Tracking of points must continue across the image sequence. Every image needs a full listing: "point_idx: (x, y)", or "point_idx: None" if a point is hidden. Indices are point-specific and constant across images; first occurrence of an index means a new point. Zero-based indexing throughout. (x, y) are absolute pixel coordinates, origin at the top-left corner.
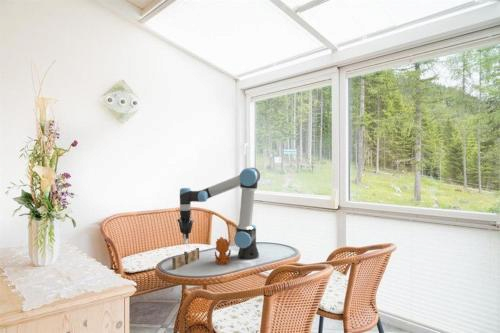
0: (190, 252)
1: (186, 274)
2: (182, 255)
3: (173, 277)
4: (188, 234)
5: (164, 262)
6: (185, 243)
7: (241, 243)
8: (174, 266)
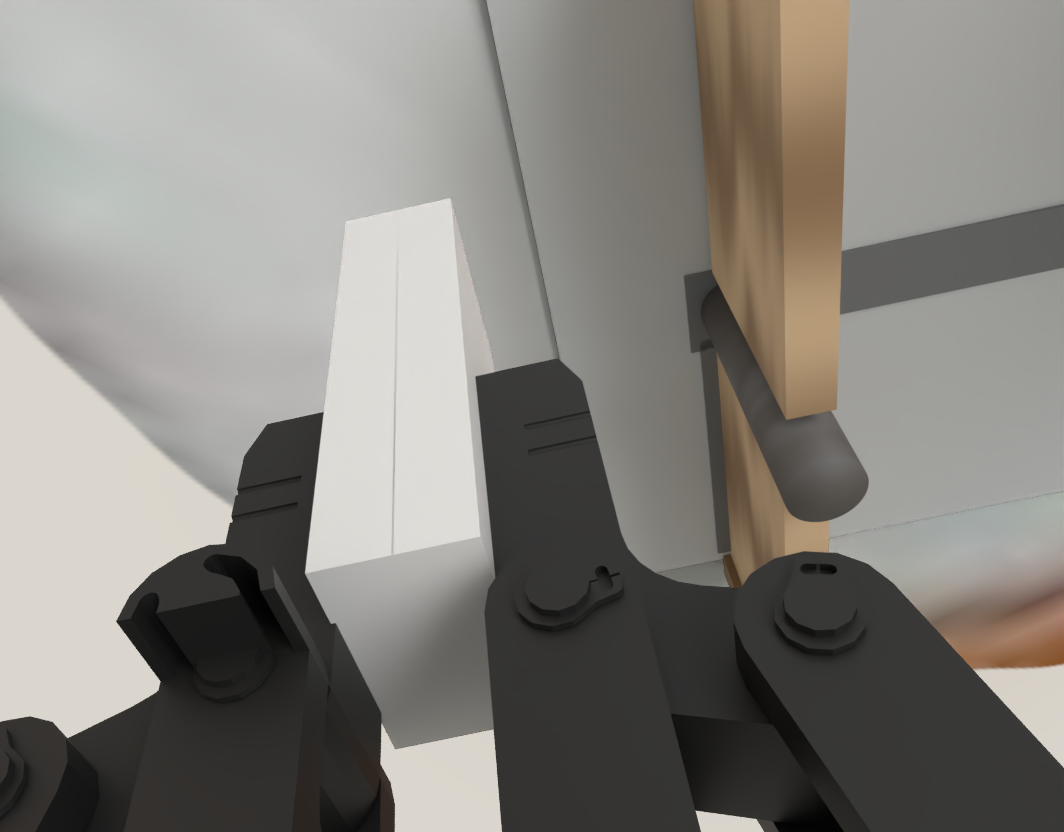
0: (838, 303)
1: (1056, 547)
2: (808, 544)
3: None
4: (618, 531)
5: (202, 453)
6: (491, 358)
7: None
8: None
